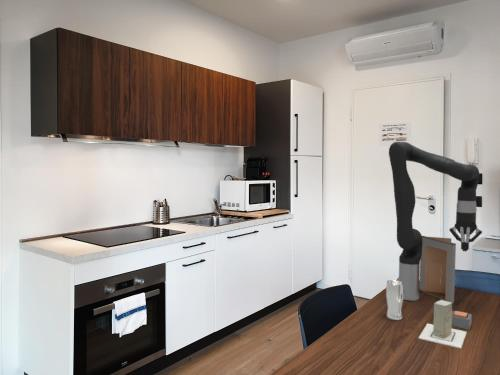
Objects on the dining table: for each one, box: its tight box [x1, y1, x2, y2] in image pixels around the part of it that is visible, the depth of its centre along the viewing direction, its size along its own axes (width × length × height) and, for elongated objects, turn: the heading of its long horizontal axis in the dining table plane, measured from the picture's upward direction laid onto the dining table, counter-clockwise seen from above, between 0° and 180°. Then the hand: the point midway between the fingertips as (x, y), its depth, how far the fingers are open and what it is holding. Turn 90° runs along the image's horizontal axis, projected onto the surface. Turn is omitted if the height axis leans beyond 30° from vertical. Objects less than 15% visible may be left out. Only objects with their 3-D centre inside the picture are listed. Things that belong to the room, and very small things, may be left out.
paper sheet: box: [418, 323, 467, 350], centre depth 150 cm, size 14×16×1 cm
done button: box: [454, 310, 468, 318], centre depth 160 cm, size 4×4×2 cm
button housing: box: [452, 310, 473, 331], centre depth 160 cm, size 7×7×4 cm
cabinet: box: [419, 235, 457, 305], centre depth 195 cm, size 21×10×28 cm, turn 17°
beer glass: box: [385, 279, 404, 321], centre depth 168 cm, size 7×7×15 cm
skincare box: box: [433, 299, 453, 338], centre depth 150 cm, size 6×4×12 cm
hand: (464, 250), depth 172 cm, fingers closed
